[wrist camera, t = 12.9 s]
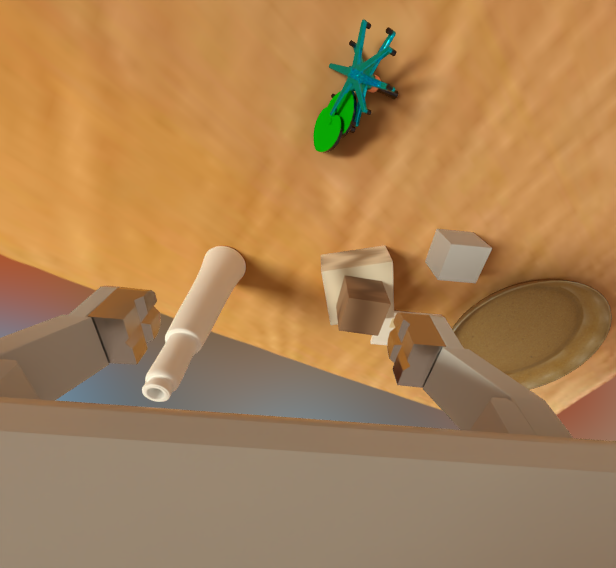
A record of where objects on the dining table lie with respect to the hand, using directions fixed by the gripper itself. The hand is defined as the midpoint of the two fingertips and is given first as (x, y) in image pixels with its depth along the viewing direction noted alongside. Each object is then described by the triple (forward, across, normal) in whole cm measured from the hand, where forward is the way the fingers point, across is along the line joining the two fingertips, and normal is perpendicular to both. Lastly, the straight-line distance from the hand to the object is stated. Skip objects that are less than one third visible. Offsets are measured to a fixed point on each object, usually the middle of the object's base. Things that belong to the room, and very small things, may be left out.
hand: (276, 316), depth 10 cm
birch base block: (+30, -9, +15) cm, 34 cm away
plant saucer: (+30, -37, +23) cm, 53 cm away
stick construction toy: (+30, -5, -7) cm, 31 cm away
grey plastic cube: (+29, -21, +9) cm, 37 cm away
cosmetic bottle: (+29, +10, +15) cm, 34 cm away
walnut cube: (+24, -9, +15) cm, 30 cm away
